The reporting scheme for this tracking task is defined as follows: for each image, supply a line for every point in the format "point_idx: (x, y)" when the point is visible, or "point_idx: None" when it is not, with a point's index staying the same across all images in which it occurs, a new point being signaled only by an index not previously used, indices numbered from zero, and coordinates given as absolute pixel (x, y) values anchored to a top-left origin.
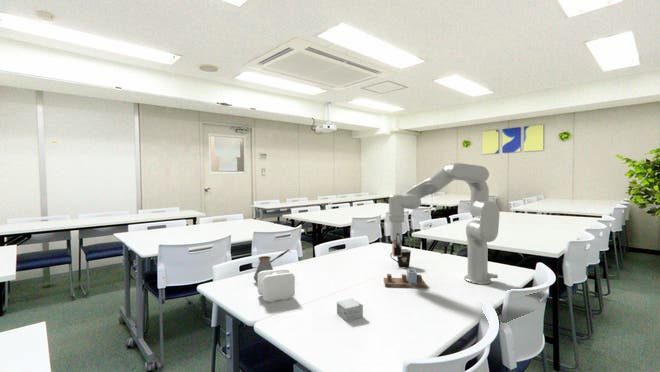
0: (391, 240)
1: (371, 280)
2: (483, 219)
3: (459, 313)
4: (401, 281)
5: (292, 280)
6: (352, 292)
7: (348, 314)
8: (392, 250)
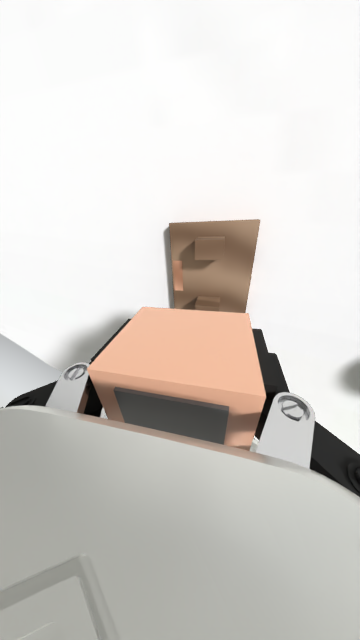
0: (71, 423)
1: (266, 141)
2: None
3: (61, 356)
4: (203, 293)
5: None
6: (67, 21)
7: None
8: (203, 330)
